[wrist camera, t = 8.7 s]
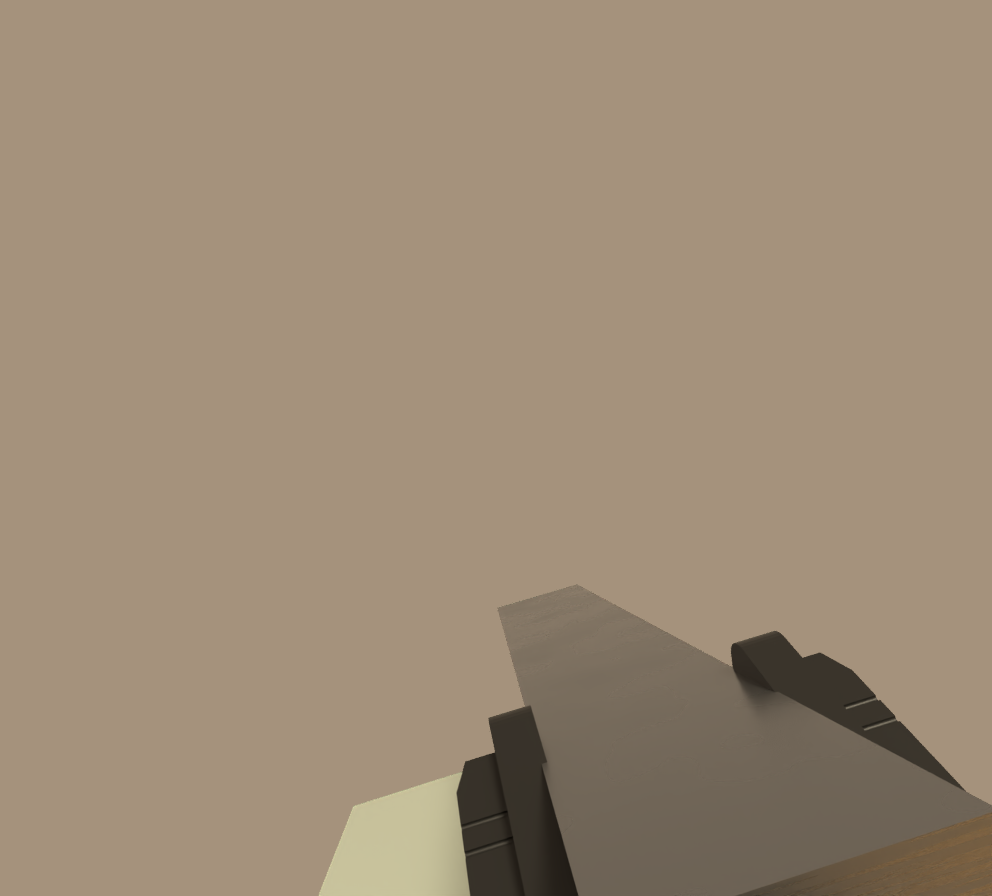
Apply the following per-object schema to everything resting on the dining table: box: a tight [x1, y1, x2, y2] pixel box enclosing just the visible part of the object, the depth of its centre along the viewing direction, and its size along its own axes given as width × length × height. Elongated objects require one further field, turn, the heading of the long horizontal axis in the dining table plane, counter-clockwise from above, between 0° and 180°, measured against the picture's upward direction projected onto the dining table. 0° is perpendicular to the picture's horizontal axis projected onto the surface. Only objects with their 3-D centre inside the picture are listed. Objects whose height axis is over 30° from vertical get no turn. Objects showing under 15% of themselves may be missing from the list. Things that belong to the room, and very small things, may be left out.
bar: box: [498, 585, 992, 896], centre depth 17 cm, size 4×24×4 cm, turn 2°
